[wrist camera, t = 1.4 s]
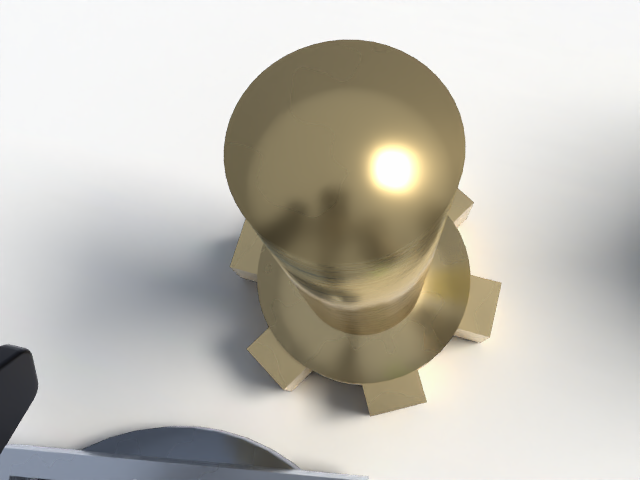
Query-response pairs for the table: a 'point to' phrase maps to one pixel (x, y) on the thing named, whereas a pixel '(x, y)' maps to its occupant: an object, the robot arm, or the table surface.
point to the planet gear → (354, 219)
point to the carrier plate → (158, 459)
